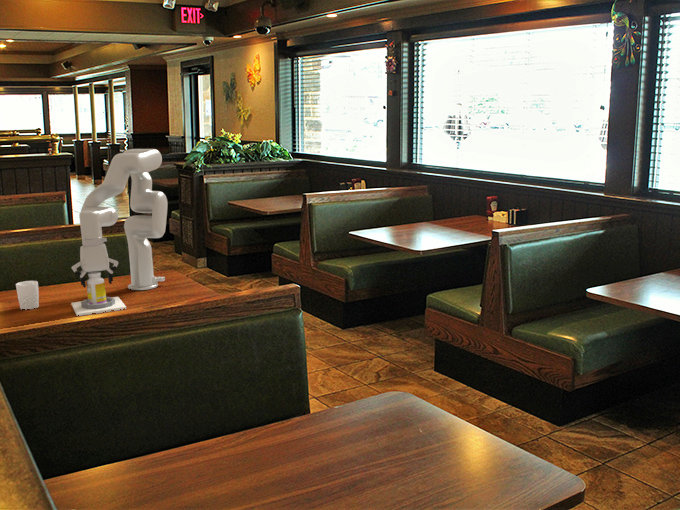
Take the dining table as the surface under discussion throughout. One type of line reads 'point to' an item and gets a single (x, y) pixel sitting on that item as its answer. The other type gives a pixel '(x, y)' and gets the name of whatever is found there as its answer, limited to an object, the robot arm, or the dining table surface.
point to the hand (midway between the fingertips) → (97, 285)
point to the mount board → (98, 306)
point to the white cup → (28, 294)
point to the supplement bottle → (96, 289)
